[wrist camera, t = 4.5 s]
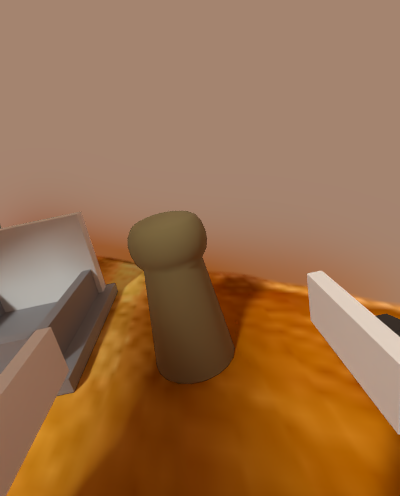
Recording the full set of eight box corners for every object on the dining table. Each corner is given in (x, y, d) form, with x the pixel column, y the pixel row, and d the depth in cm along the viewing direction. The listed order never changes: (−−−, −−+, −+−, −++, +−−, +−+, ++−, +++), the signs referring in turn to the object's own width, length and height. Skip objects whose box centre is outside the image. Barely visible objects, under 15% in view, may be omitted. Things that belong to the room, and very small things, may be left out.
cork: (180, 399, 19) (134, 236, 15) (144, 353, 24) (104, 223, 20) (251, 352, 21) (226, 205, 18) (206, 320, 26) (179, 201, 23)
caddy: (74, 392, 21) (16, 258, 18) (-131, 435, 21) (-227, 309, 18) (117, 291, 36) (91, 208, 33) (-2, 316, 36) (-41, 236, 33)
